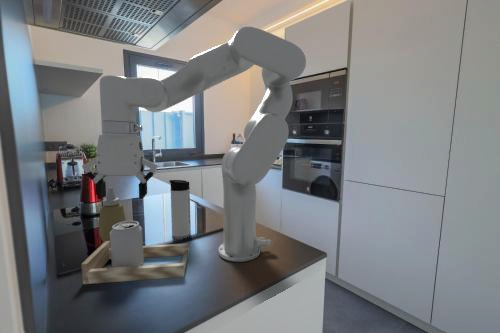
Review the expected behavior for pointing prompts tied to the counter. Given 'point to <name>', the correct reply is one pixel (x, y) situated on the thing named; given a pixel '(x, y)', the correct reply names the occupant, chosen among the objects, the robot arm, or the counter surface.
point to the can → (126, 244)
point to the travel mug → (180, 209)
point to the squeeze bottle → (110, 215)
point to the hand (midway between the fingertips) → (122, 197)
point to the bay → (100, 257)
